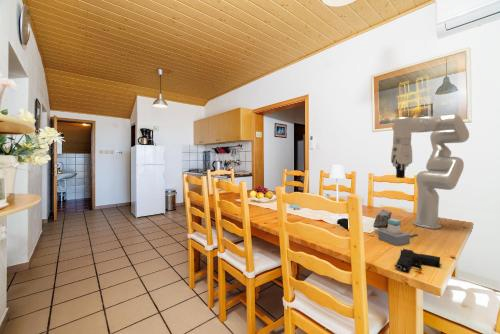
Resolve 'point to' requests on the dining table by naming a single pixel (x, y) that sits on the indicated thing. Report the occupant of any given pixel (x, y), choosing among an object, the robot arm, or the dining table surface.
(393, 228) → the plug
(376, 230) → the grey square frame
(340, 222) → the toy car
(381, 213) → the rock
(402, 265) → the handgun
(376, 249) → the dining table surface
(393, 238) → the port
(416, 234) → the dark grey bar
